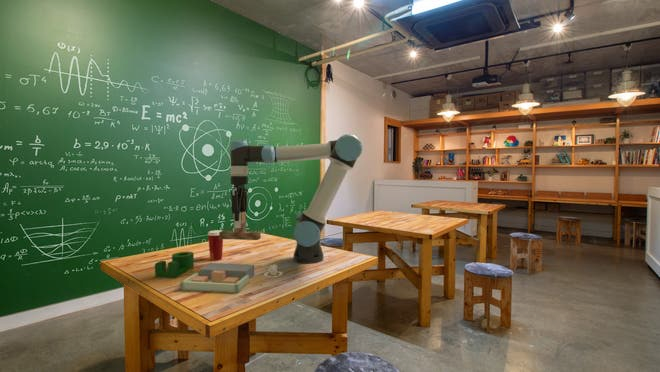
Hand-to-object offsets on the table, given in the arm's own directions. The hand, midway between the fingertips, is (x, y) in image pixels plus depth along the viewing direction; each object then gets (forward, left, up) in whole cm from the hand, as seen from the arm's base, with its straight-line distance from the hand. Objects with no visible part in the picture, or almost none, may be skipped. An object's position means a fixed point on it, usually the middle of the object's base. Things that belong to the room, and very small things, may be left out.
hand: (239, 226), depth 146 cm
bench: (0, +13, -19) cm, 23 cm away
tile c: (+6, +24, -16) cm, 29 cm away
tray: (0, +23, -19) cm, 30 cm away
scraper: (0, 0, -5) cm, 5 cm away
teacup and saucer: (-20, +4, -20) cm, 28 cm away
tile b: (0, +20, -16) cm, 26 cm away
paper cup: (+18, -12, -19) cm, 29 cm away
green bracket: (+26, +8, -19) cm, 33 cm away
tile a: (-6, +24, -16) cm, 29 cm away
